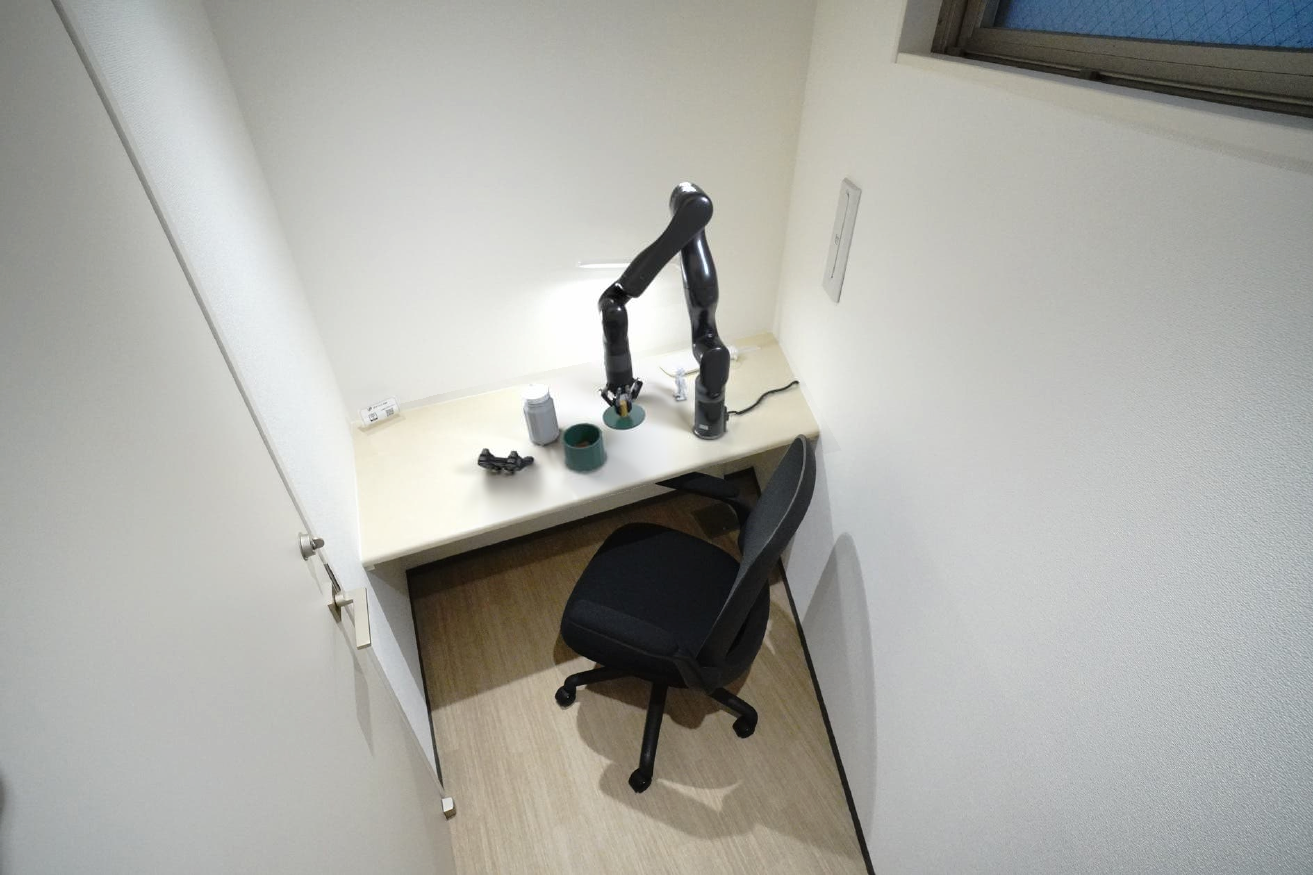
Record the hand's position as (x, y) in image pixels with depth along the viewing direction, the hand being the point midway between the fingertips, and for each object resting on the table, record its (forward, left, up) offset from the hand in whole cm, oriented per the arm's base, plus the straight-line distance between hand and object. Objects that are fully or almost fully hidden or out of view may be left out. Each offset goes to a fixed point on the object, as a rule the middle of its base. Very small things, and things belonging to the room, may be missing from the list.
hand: (623, 412), depth 165 cm
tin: (+14, 0, -13) cm, 19 cm away
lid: (0, 0, -1) cm, 1 cm away
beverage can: (-8, -23, -13) cm, 27 cm away
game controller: (+37, -8, -13) cm, 40 cm away
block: (+14, 0, -13) cm, 19 cm away
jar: (+22, -17, -13) cm, 30 cm away
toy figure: (-26, -15, -13) cm, 33 cm away
